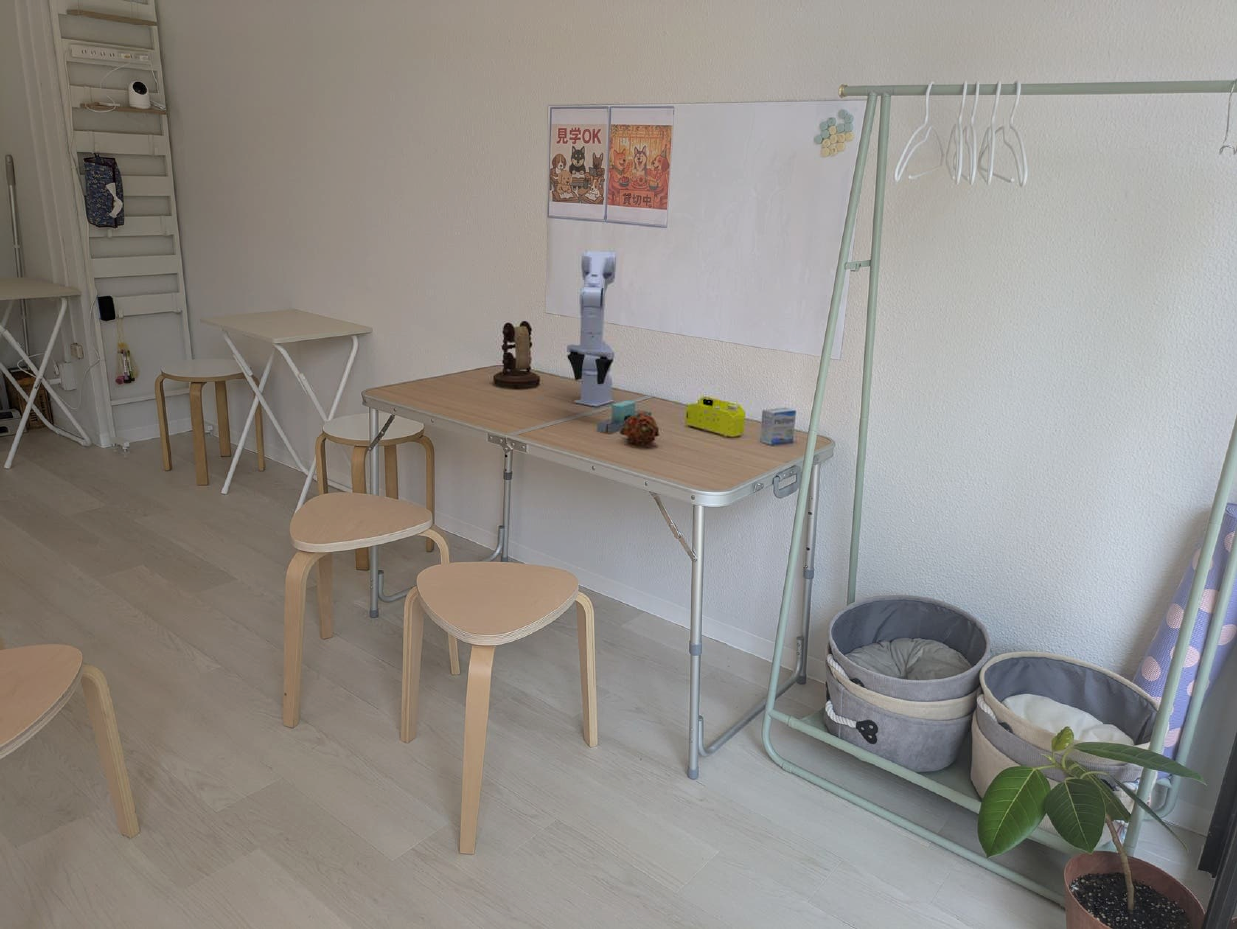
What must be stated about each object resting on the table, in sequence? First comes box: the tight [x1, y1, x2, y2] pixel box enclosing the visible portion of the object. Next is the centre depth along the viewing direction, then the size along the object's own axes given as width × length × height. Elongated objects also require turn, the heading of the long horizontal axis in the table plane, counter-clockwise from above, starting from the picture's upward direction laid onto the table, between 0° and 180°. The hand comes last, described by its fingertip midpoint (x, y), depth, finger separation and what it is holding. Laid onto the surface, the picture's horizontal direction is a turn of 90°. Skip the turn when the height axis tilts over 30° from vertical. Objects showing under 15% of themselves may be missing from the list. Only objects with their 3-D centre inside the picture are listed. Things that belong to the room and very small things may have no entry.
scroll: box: [492, 320, 541, 390], centre depth 289 cm, size 15×15×20 cm
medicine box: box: [759, 407, 797, 446], centre depth 239 cm, size 8×4×9 cm, turn 122°
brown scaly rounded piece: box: [619, 413, 660, 446], centre depth 232 cm, size 8×8×12 cm
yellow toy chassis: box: [684, 395, 746, 438], centre depth 246 cm, size 16×6×8 cm, turn 46°
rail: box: [596, 409, 652, 435], centre depth 249 cm, size 20×4×2 cm, turn 146°
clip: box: [611, 400, 637, 421], centre depth 248 cm, size 7×3×6 cm, turn 146°
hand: (589, 381), depth 251 cm, fingers open, 7 cm apart
